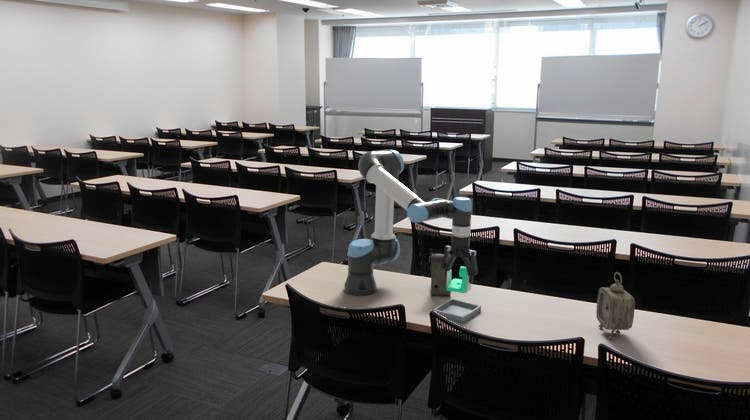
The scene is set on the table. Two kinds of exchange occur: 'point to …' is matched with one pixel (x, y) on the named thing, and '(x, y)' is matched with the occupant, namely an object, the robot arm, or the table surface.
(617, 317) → the tabletop clock
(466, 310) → the tray
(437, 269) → the vintage camera
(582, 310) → the table surface
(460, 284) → the camera mount
